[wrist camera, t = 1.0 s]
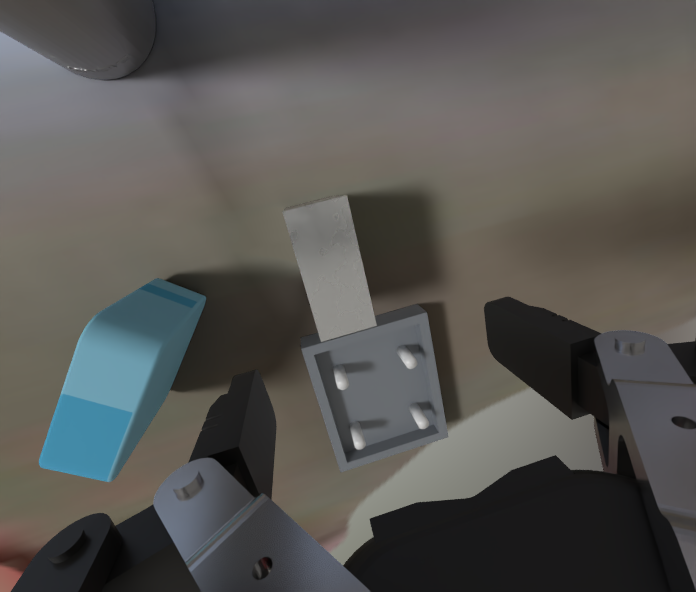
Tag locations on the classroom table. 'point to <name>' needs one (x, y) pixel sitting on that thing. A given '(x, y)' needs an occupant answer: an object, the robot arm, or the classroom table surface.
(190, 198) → the classroom table surface
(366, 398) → the tray
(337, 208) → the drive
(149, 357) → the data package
